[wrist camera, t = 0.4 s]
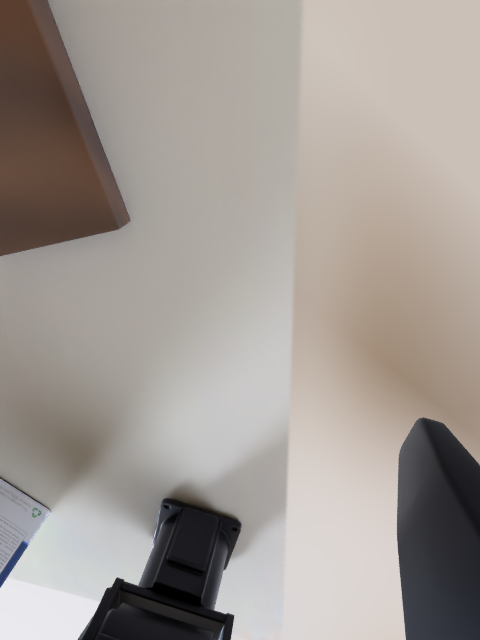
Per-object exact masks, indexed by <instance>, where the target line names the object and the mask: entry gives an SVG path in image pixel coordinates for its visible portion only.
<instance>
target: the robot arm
mask: <svg viewBox="0 0 480 640" xmlns="http://www.w3.org/2000/svg"><path fill="white" fill-rule="evenodd" d="M240 531H241V523H240V522H238V521H236V520H233V519H230V518H227V517H224V516H221V515H218V514H215V513H212V512H209V511H205V510H202V509H199V508H196V507H193V506H190V505H187V504H184V503H181V502H178V501H175V500H172V499H168V498H165V499H163V501H162V503H161V506H160V511H159V516H158V521H157V526H156V531H155V536H154V541H153V546H154V547H153V549H152V552H151V554H150V557H149V559H148V562H147V564H146V567H145V570H144V572H143V575H142V577H141V580H140V582H139V585H138V586H137V585H134V584H131V583H128V582H125V581H124V580H123V579H120V578H116V580H115V582H114V584H113V586H112V587H110V588H107V589H106V591H105V593H104V595H103V598H102V600H101V602H100V604H99V606H98V608H97V610H96V612H95V614H94V616H93V617H92V619H91V620H90V622H89V623H88V625H87V626H86V628H85V629H84V631H83V632H82V634H81V635H80V637H79V638H78V640H230V639H231V634H232V627H233V621H234V615H232V614H229V613H227V614H224V613H221V612H217V611H214V608H215V604H216V599H217V595H218V591H219V586H220V582H221V578H222V573H223V570H225V569H226V567H227V565H228V562H229V559H230V557H231V554H232V552H233V549H234V546H235V544H236V541H237V539H238V536H239V533H240ZM397 541H398V555H399V564H400V565H399V566H400V577H401V587H402V599H403V610H404V622H405V633H406V640H480V465H479V464H478V463H477V461H476V460H475V459H474V458H473V457H472V456H471V455H470V453H469V452H468V451H467V450H466V449H465V448H464V447H463V445H462V444H461V443H460V442H459V441H458V440H457V438H456V437H455V436H454V435H453V434H452V433H451V431H450V430H449V429H448V428H447V427H446V426H445V425H444V424H443V423H440V422H438V421H434V420H431V419H427V418H420V419H418V420H417V421H416V423H415V424H414V426H413V428H412V429H411V431H410V433H409V434H408V436H407V438H406V440H405V441H404V443H403V445H402V447H401V450H400V454H399V471H398V508H397Z"/></svg>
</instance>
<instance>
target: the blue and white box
mask: <svg viewBox="0 0 480 640" xmlns="http://www.w3.org/2000/svg"><path fill="white" fill-rule="evenodd" d="M49 514H50V510H49V509H47V508H46V507H44V506H43V505H41V504H39V503H38V502H36V501H35V500H33V499H31V498H30V497H28V496H27V495H25V494H24V493H22V492H21V491H19V490H17V489H16V488H14V487H13V486H11V485H10V484H8V483H6V482H5V481H3V480H2V479H0V587H1V586H2V584H3V583H4V581H5V580H6V578H7V577H8V575H9V574H10V572H11V571H12V569H13V568H14V566H15V565H16V563H17V562H18V560H19V559H20V557H21V556H22V554H23V552H24V551H25V549H26V548H27V546H28V545H29V543H30V542H31V540H32V539H33V537H34V536H35V534H36V532H37V531H38V529H39V528H40V526H41V525H42V523H43V522H44V520H45V519H46V517H47V516H48V515H49Z"/></svg>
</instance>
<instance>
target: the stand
mask: <svg viewBox="0 0 480 640" xmlns="http://www.w3.org/2000/svg"><path fill="white" fill-rule="evenodd" d="M128 222H130V218H129V216H128V213H127V210H126V208H125V205H124V202H123V200H122V197H121V194H120V192H119V189H118V187H117V184H116V181H115V179H114V176H113V173H112V171H111V168H110V165H109V163H108V160H107V158H106V155H105V152H104V150H103V147H102V144H101V142H100V139H99V136H98V134H97V131H96V128H95V126H94V123H93V121H92V118H91V115H90V113H89V110H88V107H87V105H86V102H85V99H84V97H83V94H82V92H81V89H80V86H79V84H78V81H77V78H76V76H75V73H74V70H73V68H72V65H71V62H70V60H69V57H68V55H67V52H66V49H65V47H64V44H63V41H62V39H61V36H60V33H59V31H58V28H57V26H56V23H55V20H54V18H53V15H52V12H51V10H50V7H49V4H48V2H47V0H0V256H3V255H7V254H12V253H16V252H21V251H25V250H30V249H34V248H39V247H43V246H47V245H52V244H56V243H61V242H65V241H70V240H74V239H78V238H83V237H87V236H92V235H96V234H101V233H105V232H109V231H114V230H118V229H120V228H121V227H123V226H124V225H126V224H127V223H128Z"/></svg>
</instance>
